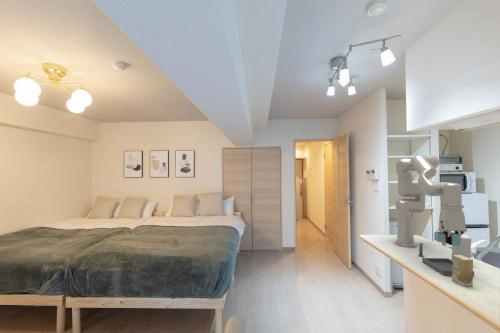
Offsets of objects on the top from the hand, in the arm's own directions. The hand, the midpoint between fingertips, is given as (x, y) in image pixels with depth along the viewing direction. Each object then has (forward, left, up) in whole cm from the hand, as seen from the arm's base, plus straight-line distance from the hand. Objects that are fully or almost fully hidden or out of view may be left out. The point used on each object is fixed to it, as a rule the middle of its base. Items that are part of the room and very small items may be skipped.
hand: (452, 243), depth 124 cm
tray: (-5, 0, -15) cm, 16 cm away
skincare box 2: (+12, -4, -15) cm, 19 cm away
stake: (-23, -2, -15) cm, 28 cm away
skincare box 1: (-13, +14, -15) cm, 24 cm away
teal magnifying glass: (-4, 0, 0) cm, 4 cm away
